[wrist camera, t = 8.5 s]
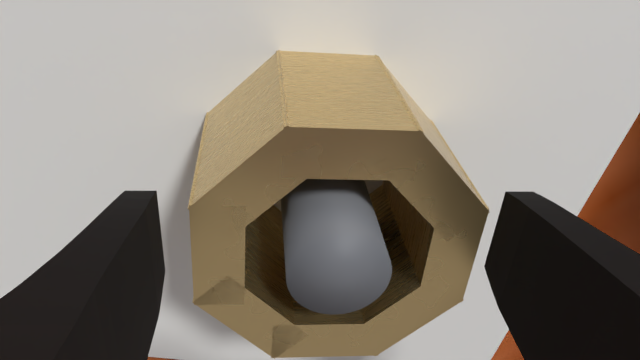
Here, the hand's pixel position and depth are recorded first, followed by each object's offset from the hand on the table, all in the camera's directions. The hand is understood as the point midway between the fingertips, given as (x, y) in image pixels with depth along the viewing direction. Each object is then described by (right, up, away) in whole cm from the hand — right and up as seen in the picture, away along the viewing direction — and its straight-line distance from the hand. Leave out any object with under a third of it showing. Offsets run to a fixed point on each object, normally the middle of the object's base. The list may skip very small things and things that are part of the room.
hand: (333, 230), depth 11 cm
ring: (0, +2, +3) cm, 3 cm away
